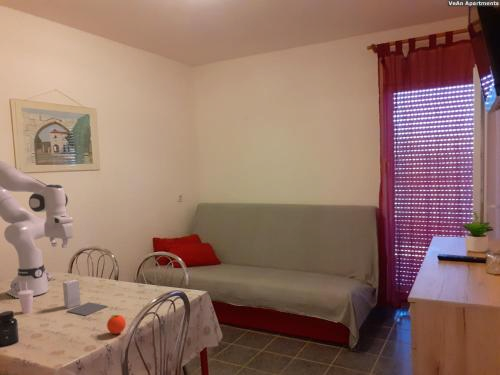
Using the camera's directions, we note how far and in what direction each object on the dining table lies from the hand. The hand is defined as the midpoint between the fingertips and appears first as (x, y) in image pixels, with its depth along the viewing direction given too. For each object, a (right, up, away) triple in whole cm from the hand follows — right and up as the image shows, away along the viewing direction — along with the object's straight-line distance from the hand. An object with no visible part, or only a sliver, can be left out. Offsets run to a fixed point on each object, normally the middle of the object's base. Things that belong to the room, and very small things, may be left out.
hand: (59, 247), depth 187 cm
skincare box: (+7, -28, -2) cm, 29 cm away
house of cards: (-31, -27, +50) cm, 64 cm away
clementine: (+39, -28, -34) cm, 59 cm away
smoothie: (-11, -29, -8) cm, 32 cm away
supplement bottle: (+1, -31, -41) cm, 51 cm away
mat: (+16, -28, -7) cm, 33 cm away
